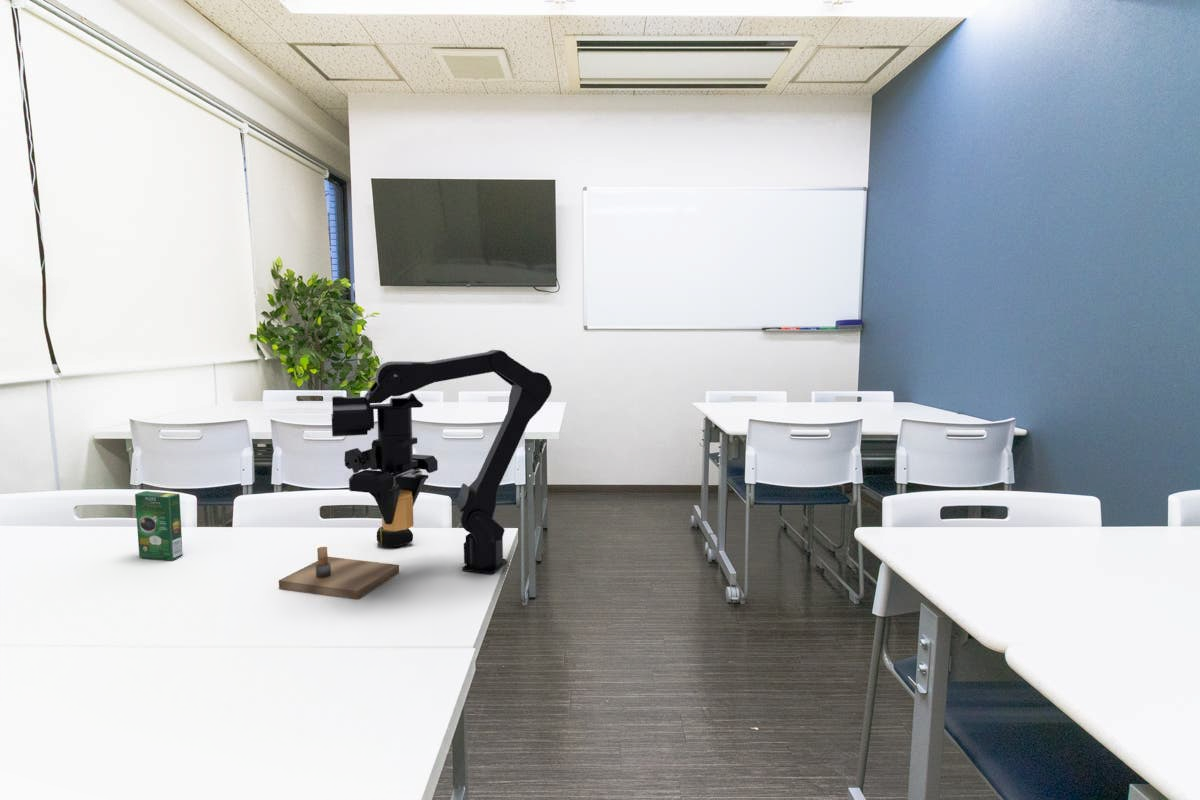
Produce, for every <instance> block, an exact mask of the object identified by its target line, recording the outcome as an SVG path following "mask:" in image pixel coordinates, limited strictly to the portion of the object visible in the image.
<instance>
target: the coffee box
mask: <svg viewBox="0 0 1200 800" xmlns="http://www.w3.org/2000/svg"><path fill="white" fill-rule="evenodd" d="M180 495H181V494H180V493H173V492H172V493H171V492H161V491H160V492H159V491H148V490H146V491H145V490H144V491H141V492H137V493H135V494H134V501H135V513H136V527H137V542H138V557H139V558H140V557H141V559H146V558H149V559H150V558H153V560H162V559H165V560H164V561H172V560H173V561H175V560H177V559H176V558H178V557H180V558H182V557H183V556H184V555H183V540H182V539H183V537H182V518H181V496H180ZM181 556H182V557H181ZM174 559H175V560H174ZM178 559H179V558H178Z"/></svg>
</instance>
